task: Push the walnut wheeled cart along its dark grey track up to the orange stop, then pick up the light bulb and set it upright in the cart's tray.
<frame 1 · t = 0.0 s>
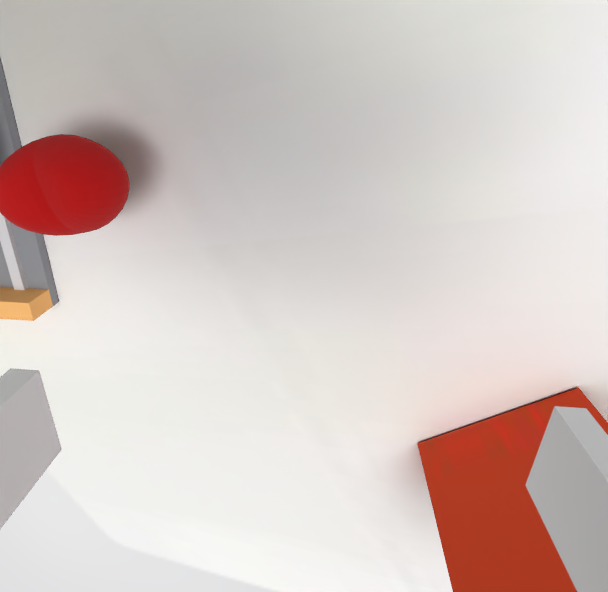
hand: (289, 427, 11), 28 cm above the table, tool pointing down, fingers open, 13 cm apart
light bulb: (110, 171, 37), on the table
file binder: (504, 439, 47), on the table
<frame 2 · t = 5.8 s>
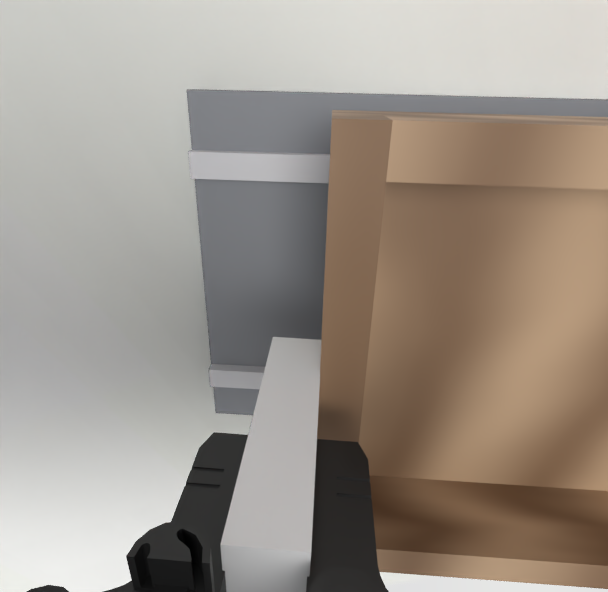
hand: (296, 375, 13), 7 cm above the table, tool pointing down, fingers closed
track: (596, 288, 19), on the table
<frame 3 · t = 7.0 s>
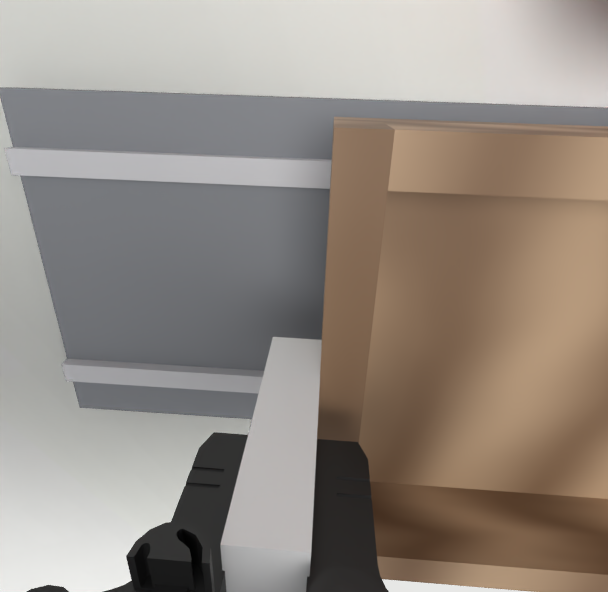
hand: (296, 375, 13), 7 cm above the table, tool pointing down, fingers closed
track: (433, 286, 19), on the table
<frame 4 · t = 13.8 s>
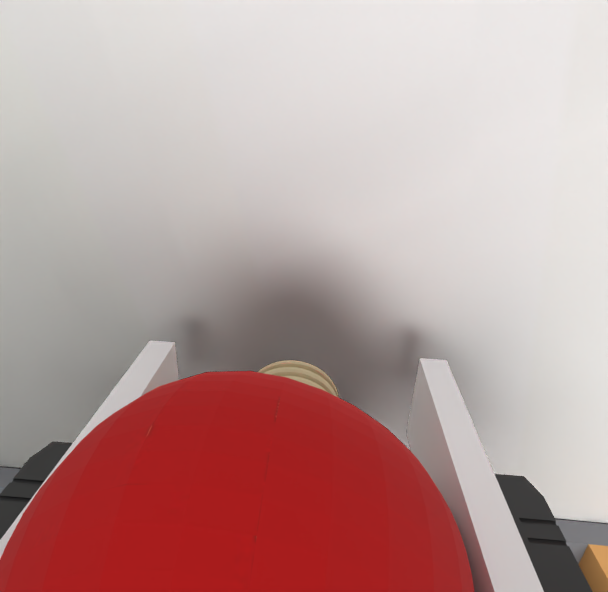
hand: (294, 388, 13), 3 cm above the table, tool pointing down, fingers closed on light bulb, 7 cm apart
light bulb: (295, 376, 13), point 2 cm above the table, touching gripper
track: (212, 591, 22), on the table
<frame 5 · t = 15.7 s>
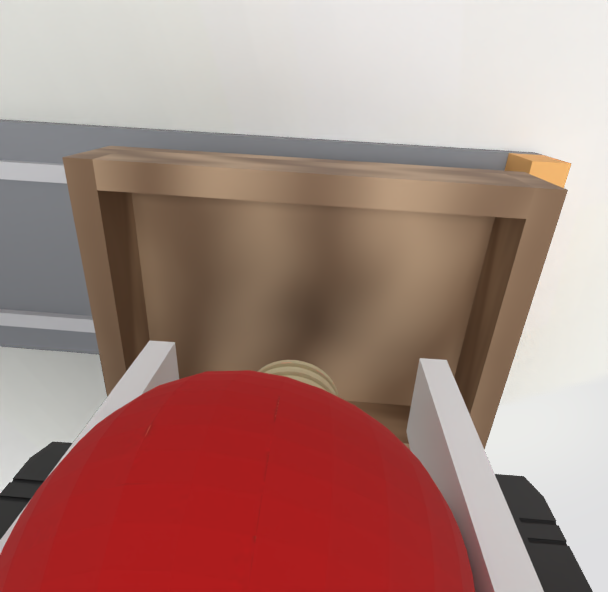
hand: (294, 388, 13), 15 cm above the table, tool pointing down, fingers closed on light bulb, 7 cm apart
cart: (305, 300, 23), point 5 cm above the table, slide at 9.9 cm
light bulb: (295, 376, 13), point 15 cm above the table, touching gripper
track: (226, 258, 27), on the table
when the fingers open (7 cm above the table, at t = 17.8 s): light bulb stays where it is, resting on cart.
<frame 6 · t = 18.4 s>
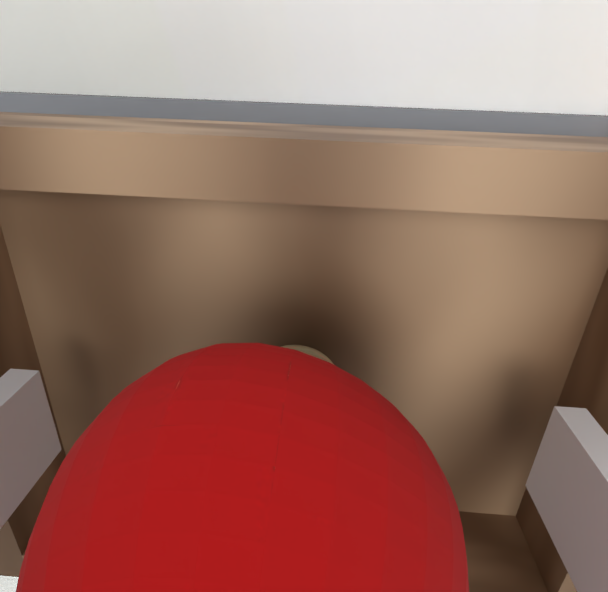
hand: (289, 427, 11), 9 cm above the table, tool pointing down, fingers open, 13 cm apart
cart: (294, 358, 14), point 5 cm above the table, slide at 9.9 cm, touching light bulb
light bulb: (298, 362, 14), point 6 cm above the table, touching cart
track: (185, 284, 19), on the table
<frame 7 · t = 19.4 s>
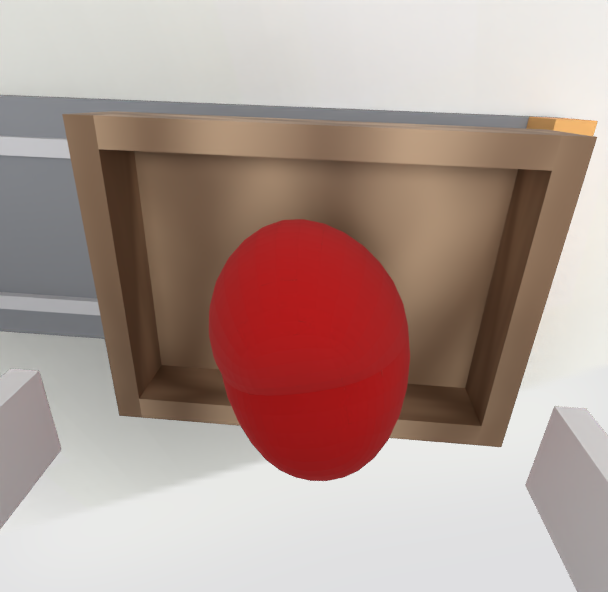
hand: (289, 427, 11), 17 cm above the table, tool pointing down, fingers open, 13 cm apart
cart: (315, 273, 22), point 5 cm above the table, slide at 9.9 cm, touching light bulb
light bulb: (318, 274, 21), point 6 cm above the table, touching cart
track: (235, 236, 27), on the table
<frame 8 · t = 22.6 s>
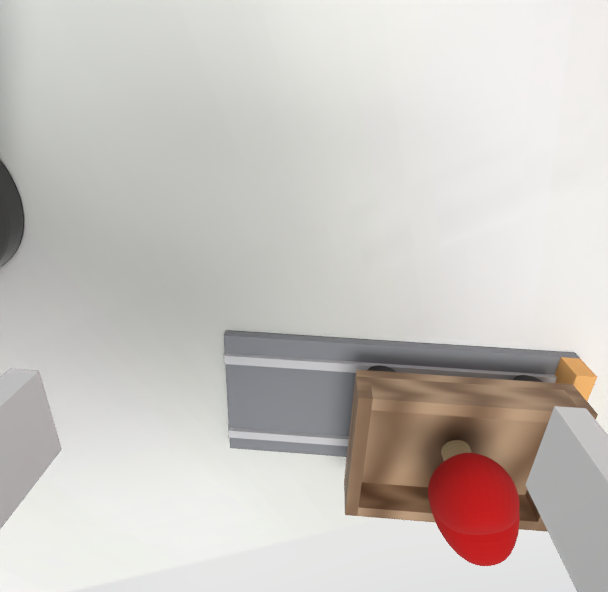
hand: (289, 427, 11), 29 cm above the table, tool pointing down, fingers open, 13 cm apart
cart: (450, 440, 41), point 5 cm above the table, slide at 9.9 cm, touching light bulb
light bulb: (452, 442, 41), point 6 cm above the table, touching cart
track: (388, 401, 46), on the table
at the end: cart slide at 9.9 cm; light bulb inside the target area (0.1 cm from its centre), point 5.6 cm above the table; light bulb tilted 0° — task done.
